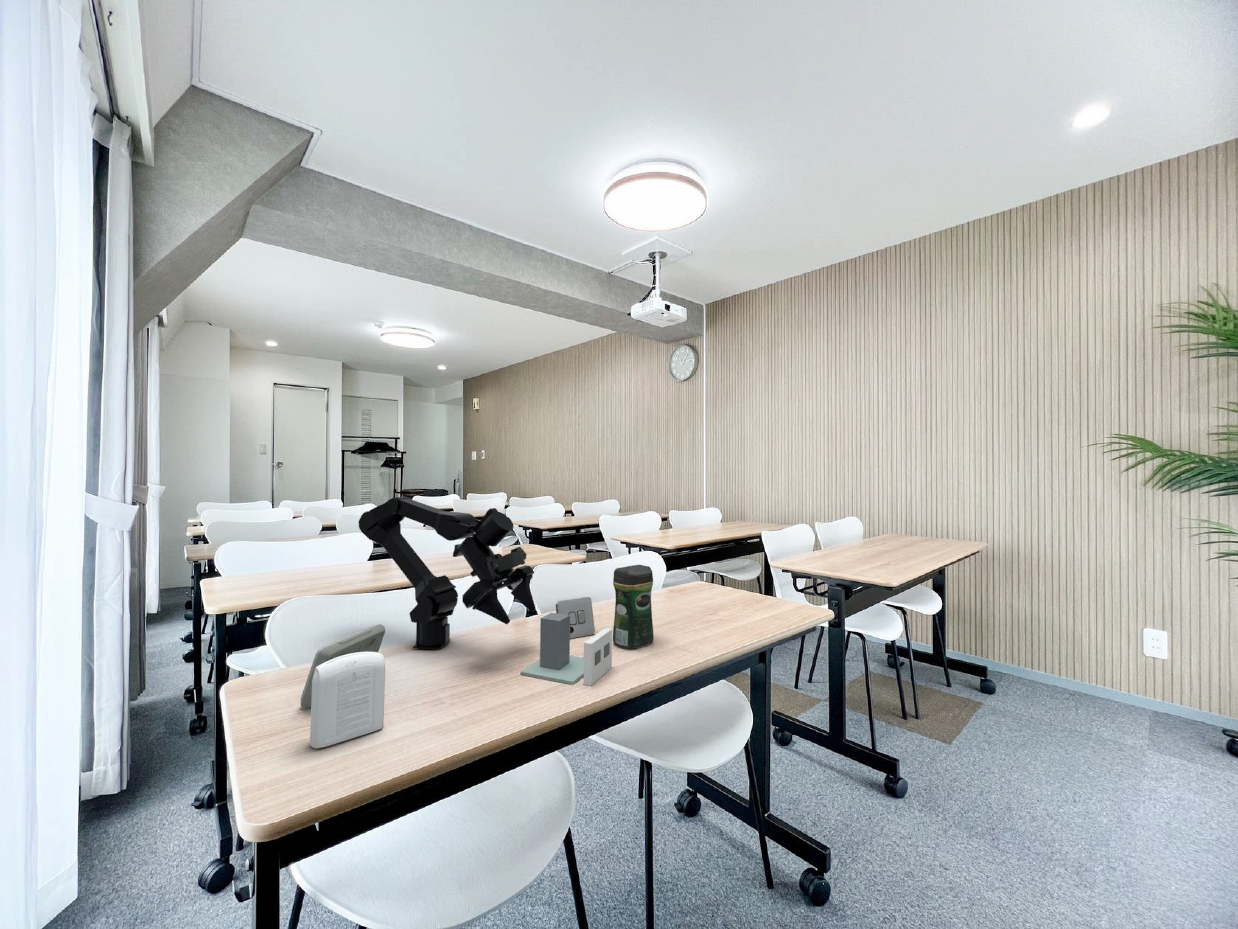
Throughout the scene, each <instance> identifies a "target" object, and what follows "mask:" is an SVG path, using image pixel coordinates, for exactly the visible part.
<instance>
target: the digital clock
mask: <svg viewBox="0 0 1238 929" xmlns="http://www.w3.org/2000/svg"><path fill="white" fill-rule="evenodd" d="M385 632H386V628H385V625H383V624H380V623H379V624H373V625H371V626H368V627H366V628H364V629H361V630H359V631H357V632H354V633H352V634H349V635H347V636H345V637H343V638H341V639H338V640H336V641H333V642H331V643H329V644H328V643H327V645H324V646H322V647H320V648H318V650H316V653H315V655H314V658H313V662H312V663H311V666H310V670H309V673H308V675H307V678H306V680H305V684H304V687H303V690H302V693H301V694H300V695H301V696H300V707H301V708H303V709H311V701H312V679H313V676H314V670H315V668H316V667H317V666H319V665H321V664H322V663H324V662H327V661H329V660H331V659H334V658H336V657H339V656H342V655H346V654H351V653H356V652H378V653H379V651H380V647H381V644H382V642H383V639H384V636H385Z"/></svg>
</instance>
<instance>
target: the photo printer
mask: <svg viewBox="0 0 1238 929" xmlns="http://www.w3.org/2000/svg"><path fill="white" fill-rule="evenodd" d="M384 656H385V655H383V654H382V653H381V652H379V651H378V652H356V653H351V654H346V655H342V656H339V657H336V658H334V659H331V660H329V661H327V662H324V663H322V664H321V665H319V666H317V667H316V668H315V670H314V676H313V679H312V701H311V708H310V728H309V729H310V731H309V732H310V733H309V734H310V735H309V736H310V737H309V746H310V747H312V748H313V749H316V750H317V749H321V748H326V747H328V746H333V745H335V744H338V743H342V742H345V741H349V740H352V739H354V738H357V737H361V736H363V735H367V734H371V733H373V732H376V731H378V730H382V728H383V727H384V725H385V724H384V722H385V721H384V719H385V690H386V688H385V687H386V661H385V657H384Z"/></svg>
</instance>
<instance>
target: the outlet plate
mask: <svg viewBox="0 0 1238 929" xmlns="http://www.w3.org/2000/svg"><path fill="white" fill-rule="evenodd" d="M612 656H613V628H607V627H606V628H603V629H602V630H600V631H599V632H597V633H596V634H594V635H593V636H592V637H590V638H588V640H585V641H584V643H583V658H584V676H583V685H584V686H590V687H591V686H592V685H594V684H595V683H596V682H598V680H599V679H601V677H603V676H604V675H605V674H606V673H608V671H610V669H611V668H613V666H612V664H613V663H612V662H613V657H612Z"/></svg>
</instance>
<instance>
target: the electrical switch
mask: <svg viewBox="0 0 1238 929" xmlns="http://www.w3.org/2000/svg"><path fill="white" fill-rule="evenodd" d="M592 602H593V600H592V598H591V597H590V596H585V597H577V598H570V599H562V600H558V601H557V602H556V604H555V611H556V612H555V613H557V614H565V615H570V640H571V639H574V638H575V639H576V638H582V637H586V636H592V635H593V636H594V635H595V633H596V627H595V619H594V618H595V617H594V610H593V603H592Z"/></svg>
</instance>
